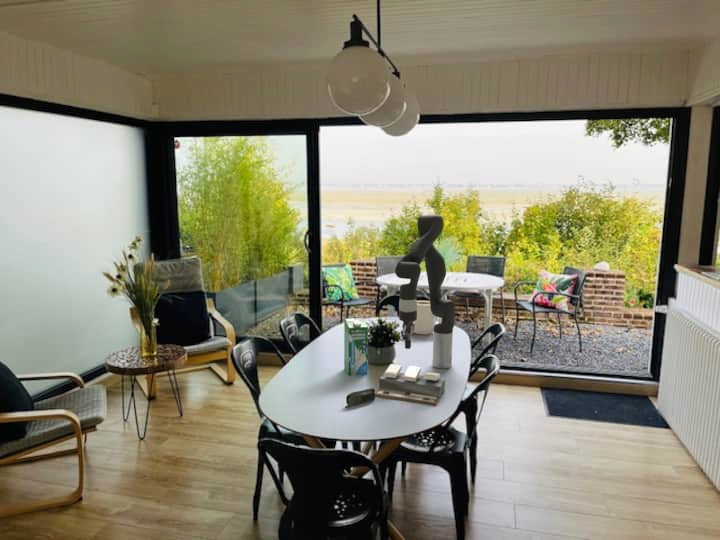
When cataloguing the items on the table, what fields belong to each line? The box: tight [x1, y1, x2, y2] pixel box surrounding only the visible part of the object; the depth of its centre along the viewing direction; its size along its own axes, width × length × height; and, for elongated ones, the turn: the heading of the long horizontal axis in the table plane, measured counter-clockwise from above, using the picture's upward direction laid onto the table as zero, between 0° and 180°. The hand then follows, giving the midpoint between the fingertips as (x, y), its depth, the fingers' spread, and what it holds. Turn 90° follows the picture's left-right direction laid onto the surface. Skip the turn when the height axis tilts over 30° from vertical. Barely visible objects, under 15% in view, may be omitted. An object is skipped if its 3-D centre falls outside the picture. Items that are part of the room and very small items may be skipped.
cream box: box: [423, 371, 441, 381], centre depth 214 cm, size 9×5×3 cm, turn 159°
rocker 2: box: [404, 365, 422, 381], centre depth 217 cm, size 9×5×3 cm, turn 159°
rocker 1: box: [383, 363, 403, 378], centre depth 220 cm, size 9×5×3 cm, turn 159°
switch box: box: [375, 372, 446, 406], centre depth 215 cm, size 16×26×6 cm, turn 69°
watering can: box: [413, 300, 442, 336], centre depth 309 cm, size 16×27×19 cm, turn 62°
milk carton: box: [343, 317, 369, 377], centre depth 239 cm, size 9×9×25 cm
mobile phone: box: [344, 387, 376, 409], centre depth 205 cm, size 5×3×15 cm
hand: (407, 348), depth 218 cm, fingers closed
